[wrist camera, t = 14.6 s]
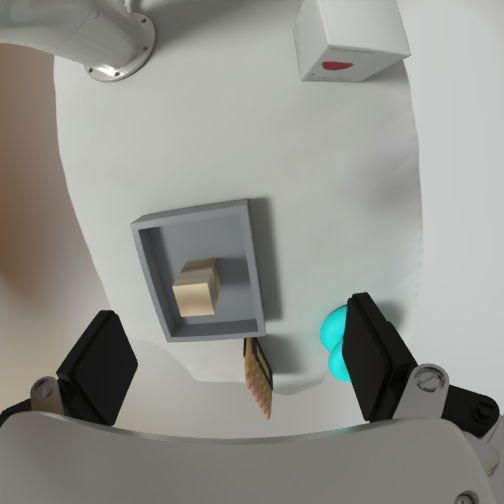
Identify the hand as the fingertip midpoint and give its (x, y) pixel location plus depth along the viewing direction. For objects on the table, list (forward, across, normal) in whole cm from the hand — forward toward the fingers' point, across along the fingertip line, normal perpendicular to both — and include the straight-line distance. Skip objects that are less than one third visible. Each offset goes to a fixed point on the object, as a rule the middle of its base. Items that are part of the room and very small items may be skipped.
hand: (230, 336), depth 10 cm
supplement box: (+30, -13, -20) cm, 38 cm away
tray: (+29, +7, +11) cm, 32 cm away
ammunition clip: (+29, 0, +29) cm, 41 cm away
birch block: (+28, +7, +11) cm, 31 cm away
